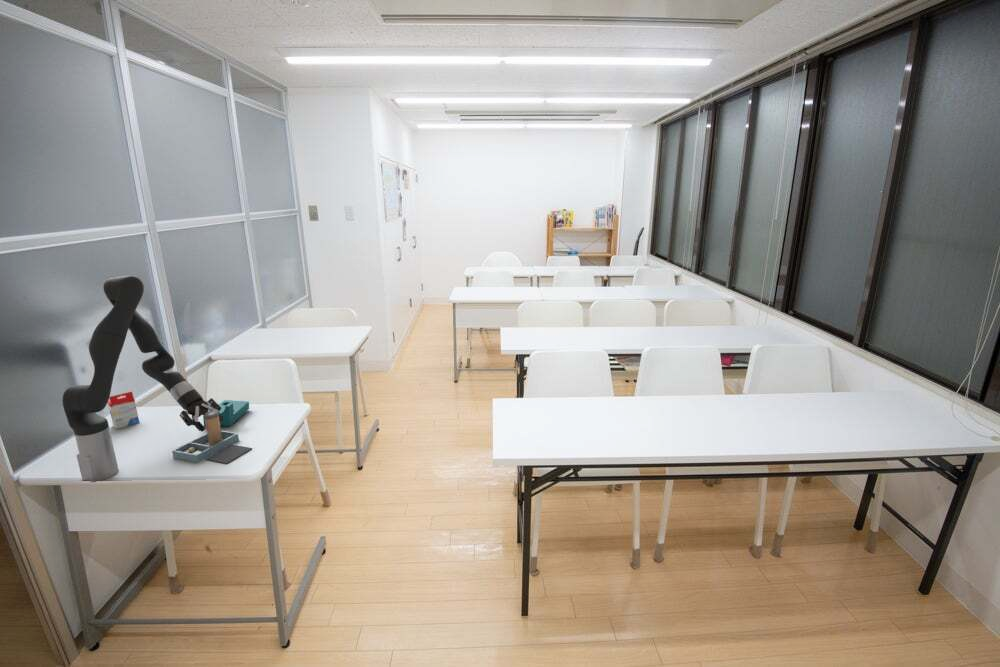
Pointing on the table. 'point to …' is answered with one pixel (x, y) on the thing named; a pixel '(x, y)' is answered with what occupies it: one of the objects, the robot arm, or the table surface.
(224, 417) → the teal notched block
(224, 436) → the parts tub
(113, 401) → the ink box
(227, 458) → the black mat
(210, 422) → the brown canister
